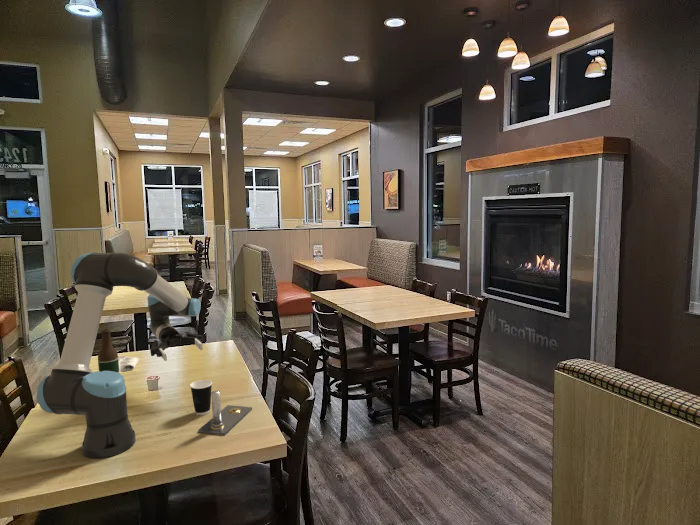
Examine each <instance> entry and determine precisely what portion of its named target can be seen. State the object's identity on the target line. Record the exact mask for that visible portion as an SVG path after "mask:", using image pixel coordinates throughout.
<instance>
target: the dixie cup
mask: <svg viewBox="0 0 700 525" xmlns="http://www.w3.org/2000/svg"><path fill="white" fill-rule="evenodd" d="M212 386H213V381H212V380H210V379H201V380H195V381H193V382H191V383H190V384H189V387H190V392H191V396H192V401H193V407H194V411H195V415H197V416H204V415H205V416H206V415H207V414H210V410H211V406H212V394H211V392H212Z"/></svg>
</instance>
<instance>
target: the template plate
mask: <svg viewBox="0 0 700 525" xmlns="http://www.w3.org/2000/svg"><path fill="white" fill-rule="evenodd" d="M251 411H253V407H251V406H241V405H233V404H232V405H230V404H229V405H226V406H225V407H224V408H223V409H221V419H222V421H223V426H222V427H220V428H213V427H212V423H213V417H212V418H210V419H209V420H208V421H207V422H206V423H204V424H203V425H202V426H201V427H200V428H199V429H198V430H197V432H198V433H199V434H201V433H202V434H210V435H216V436H217V435H218V436H219V435H220V436H227V435H228V433H230V431H231V430H233V429H234V428H235V427H236V426H237V425H238V424H239V423H240V422H241V421H242V420H243V419H244V418H245V417H246V416H247V415H248V414H249V413H251Z"/></svg>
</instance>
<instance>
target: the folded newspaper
mask: <svg viewBox="0 0 700 525" xmlns="http://www.w3.org/2000/svg"><path fill="white" fill-rule="evenodd" d="M139 361H140V359H139V357H135V356H126V355H118V362H119V373H121V372H126V371H127V372H128V371H132V370H134V369H135V367H136V366H137V365H138V362H139Z"/></svg>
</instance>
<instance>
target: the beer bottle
mask: <svg viewBox="0 0 700 525" xmlns="http://www.w3.org/2000/svg"><path fill="white" fill-rule="evenodd" d="M111 332H112V331H111V329H109V328H104V329H102V330H101V331H100V333H101V347H100V348H101V349H100V350H99V352H98V354H97V366H98V371H100V372H102V371H114V372H117V373H119V374H120V372H119V362H118V356H119V355H118V352H117V350H116V349H115V348H114V347H113V344H112V336H111Z"/></svg>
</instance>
